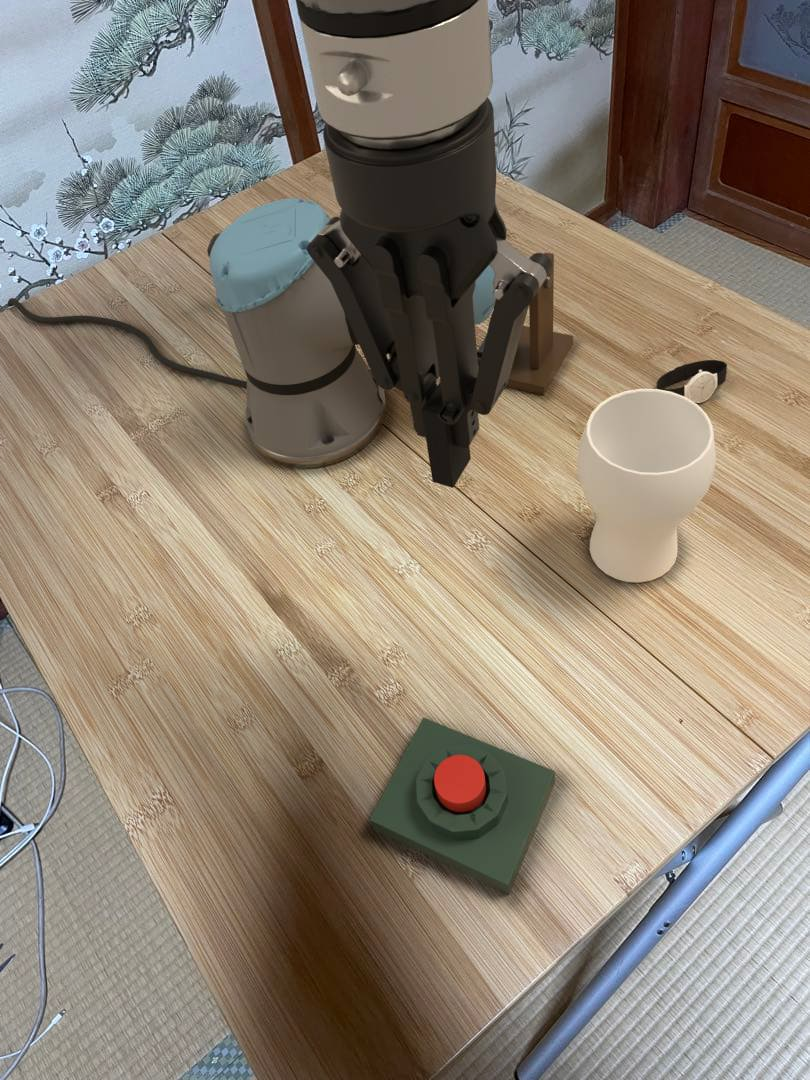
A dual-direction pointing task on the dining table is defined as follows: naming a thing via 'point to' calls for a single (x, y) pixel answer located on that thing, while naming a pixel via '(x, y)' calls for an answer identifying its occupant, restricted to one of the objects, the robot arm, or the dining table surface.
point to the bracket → (539, 343)
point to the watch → (696, 379)
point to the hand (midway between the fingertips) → (451, 470)
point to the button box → (474, 836)
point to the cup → (643, 478)
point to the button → (460, 783)
